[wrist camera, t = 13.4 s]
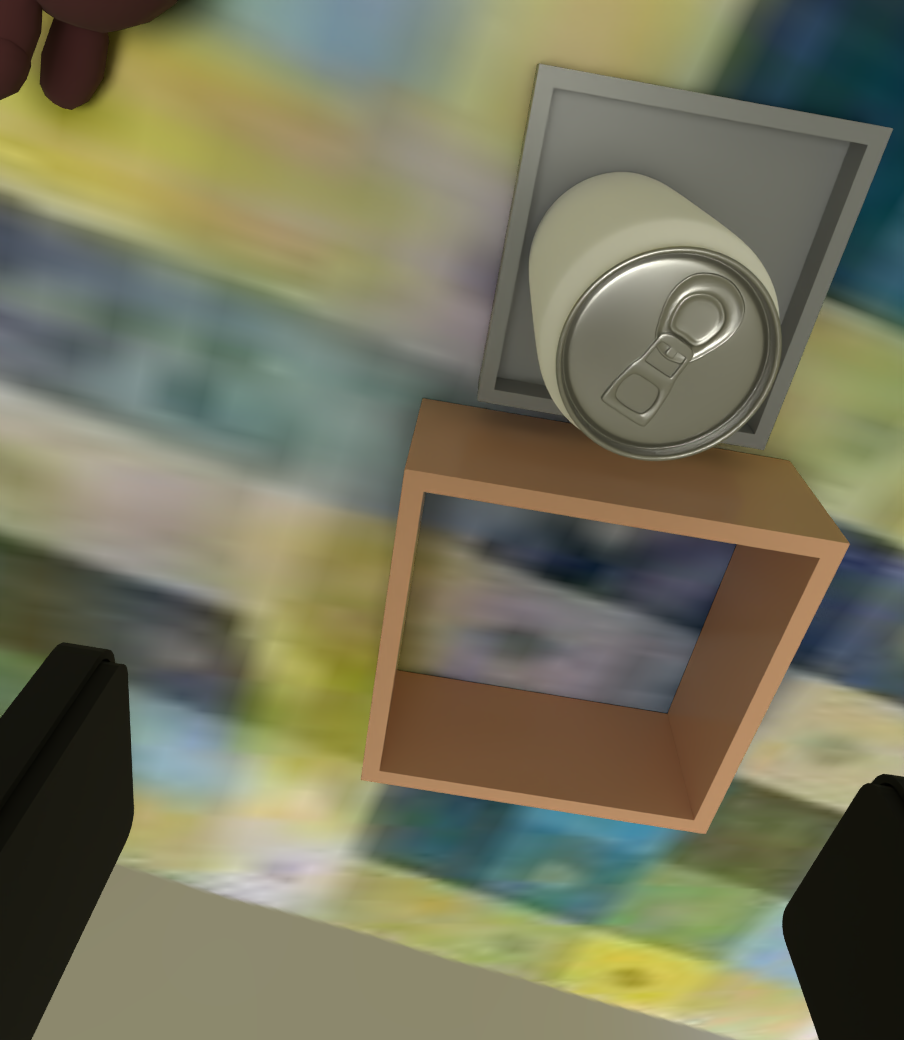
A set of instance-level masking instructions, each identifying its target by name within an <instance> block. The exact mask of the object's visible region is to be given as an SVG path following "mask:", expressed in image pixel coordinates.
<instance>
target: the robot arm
mask: <svg viewBox="0 0 904 1040" xmlns="http://www.w3.org/2000/svg"><path fill="white" fill-rule="evenodd" d="M133 816H134V799H133V777H132V755H131V733H130V711H129V689H128V671H127V667H126V665H124V664H118V663H115V659H114V654H113V653H112V651H111V650H108V649H101V648H95V647H89V646H83V645H76V644H70V643H64V642H63V643H61V644H59V645H57V646H56V647H55V648H54V649H53V651H52V652H51V653H50V654H49V656H48V657H47V658H46V660H45V661H44V662H43V664H42V665H41V666H40V667H39V669H38V670H37V671H36V673H35V674H34V675H33V677H32V678H31V679H30V680H29V682H28V683H27V684H26V686H25V687H24V688H23V689H22V691H21V692H20V693H19V695H18V696H17V697H16V699H15V700H14V701H13V702H12V704H11V705H10V706H9V708H8V709H7V710H6V712H5V713H4V714H3V715H2V717H1V718H0V1040H31V1039H32V1037H33V1035H34V1033H35V1031H36V1029H37V1027H38V1025H39V1023H40V1020H41V1018H42V1016H43V1014H44V1012H45V1010H46V1007H47V1006H48V1003H49V1002H50V1000H51V997H52V995H53V993H54V991H55V989H56V987H57V985H58V983H59V981H60V979H61V977H62V974H63V972H64V970H65V968H66V966H67V964H68V962H69V960H70V958H71V956H72V953H73V952H74V949H75V947H76V945H77V943H78V941H79V939H80V937H81V935H82V932H83V931H84V929H85V926H86V924H87V922H88V920H89V918H90V916H91V914H92V911H93V910H94V908H95V906H96V903H97V901H98V899H99V897H100V895H101V893H102V891H103V889H104V887H105V885H106V883H107V880H108V878H109V876H110V874H111V872H112V870H113V868H114V866H115V864H116V862H117V860H118V858H119V855H120V853H121V851H122V849H123V847H124V845H125V843H126V841H127V838H128V836H129V833H130V830H131V826H132V822H133ZM782 927H783V935H784V939H785V942H786V945H787V948H788V951H789V954H790V957H791V960H792V963H793V965H794V968H795V971H796V974H797V977H798V980H799V983H800V986H801V989H802V992H803V994H804V997H805V1000H806V1003H807V1006H808V1009H809V1012H810V1015H811V1018H812V1021H813V1023H814V1026H815V1029H816V1032H817V1035H818V1038H819V1040H904V777H901V776H895V775H889V774H882V775H880V776H877V777H876V778H875V779H874V780H873V782H872V783H867V784H865V785H863V786H862V787H861V788H860V790H859V791H858V793H857V794H856V796H855V798H854V799H853V801H852V802H851V804H850V806H849V807H848V809H847V810H846V812H845V814H844V815H843V817H842V818H841V820H840V821H839V823H838V825H837V826H836V828H835V829H834V831H833V833H832V834H831V836H830V837H829V839H828V841H827V842H826V844H825V845H824V847H823V849H822V850H821V852H820V853H819V855H818V857H817V858H816V860H815V861H814V863H813V865H812V866H811V868H810V869H809V871H808V873H807V874H806V876H805V877H804V879H803V881H802V882H801V884H800V885H799V887H798V889H797V890H796V892H795V893H794V895H793V897H792V898H791V900H790V901H789V903H788V905H787V906H786V908H785V911H784V914H783V921H782Z"/></svg>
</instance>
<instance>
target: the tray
mask: <svg viewBox="0 0 904 1040" xmlns="http://www.w3.org/2000/svg"><path fill="white" fill-rule="evenodd" d="M892 130H893V128H888V127H882V126H877V125H871V124H866V123H860V122H855V121H850V120H844V119H839V118H833V117H828V116H822V115H817V114H811V113H806V112H800V111H795V110H790V109H784V108H779V107H773V106H768V105H762V104H757V103H751V102H746V101H740V100H735V99H730V98H724V97H719V96H713V95H708V94H702V93H697V92H691V91H686V90H681V89H675V88H670V87H664V86H659V85H653V84H648V83H642V82H637V81H631V80H626V79H621V78H615V77H610V76H604V75H599V74H593V73H588V72H582V71H577V70H571V69H566V68H561V67H555V66H550V65H544V64H537V68H536V73H535V78H534V84H533V89H532V95H531V100H530V106H529V111H528V117H527V122H526V127H525V133H524V138H523V144H522V149H521V155H520V160H519V165H518V171H517V176H516V182H515V187H514V193H513V198H512V203H511V209H510V214H509V220H508V225H507V231H506V236H505V242H504V247H503V252H502V258H501V263H500V269H499V274H498V280H497V285H496V290H495V296H494V301H493V307H492V312H491V318H490V323H489V328H488V334H487V339H486V345H485V350H484V356H483V361H482V367H481V372H480V377H479V385H478V396H477V401H480V402H486V403H492V404H498V405H503V406H509V407H515V408H521V409H527V410H533V411H539V412H544V413H550V414H556V415H562V416H564V415H563V414H562V412H561V411H560V410H559V408H558V407H557V406H556V404H555V403H554V401H553V399H552V398H551V396H550V394H549V392H548V390H547V387H546V385H545V383H544V380H543V377H542V374H541V370H540V365H539V360H538V355H537V348H536V341H535V332H534V324H533V314H532V305H531V295H530V285H529V255H530V249H531V245H532V241H533V238H534V235H535V232H536V230H537V228H538V226H539V224H540V222H541V220H542V218H543V217H544V215H545V213H546V212H547V211H548V209H549V208H550V207H551V206H552V204H553V203H554V202H555V201H556V200H557V199H558V198H559V197H560V196H561V195H562V194H564V193H565V192H566V191H567V190H569V189H570V188H572V187H573V186H575V185H576V184H578V183H580V182H582V181H584V180H586V179H588V178H591V177H594V176H597V175H601V174H605V173H611V172H631V173H637V174H641V175H644V176H647V177H650V178H653V179H655V180H657V181H659V182H661V183H663V184H665V185H667V186H668V187H670V188H671V189H673V190H674V191H676V192H677V193H679V194H680V195H682V196H683V197H685V198H686V199H687V200H689V201H690V202H692V203H693V204H694V205H696V206H697V207H699V208H700V209H701V210H703V211H704V212H705V213H707V214H708V215H710V216H711V217H712V218H714V219H715V220H716V221H718V222H719V223H720V224H722V225H723V226H724V227H726V228H727V229H728V230H730V231H731V232H732V233H733V234H735V235H736V236H737V237H738V238H739V239H741V240H742V241H743V242H744V243H745V244H746V245H747V246H748V247H749V248H750V249H751V250H752V251H753V252H754V253H755V255H756V256H757V257H758V259H759V260H760V261H761V263H762V264H763V266H764V268H765V269H766V271H767V273H768V275H769V277H770V279H771V281H772V284H773V286H774V289H775V293H776V296H777V301H778V307H779V320H780V325H781V333H782V350H781V358H780V363H779V367H778V371H777V374H776V377H775V380H774V382H773V385H772V387H771V389H770V391H769V393H768V395H767V397H766V398H765V400H764V401H763V403H762V404H761V406H760V407H759V409H758V410H757V411H756V413H755V414H754V415H753V416H752V417H751V418H750V419H749V420H748V422H747V423H746V424H745V425H743V426H742V427H741V428H740V429H739V430H738V431H737V432H735V433H734V434H733V435H731V436H730V437H729V438H727V439H726V440H724V441H723V442H721V443H726V444H731V445H737V446H743V447H749V448H755V449H761V450H764V449H765V446H766V444H767V441H768V439H769V436H770V434H771V431H772V429H773V426H774V424H775V421H776V419H777V416H778V414H779V411H780V409H781V406H782V404H783V401H784V399H785V396H786V394H787V391H788V389H789V387H790V384H791V382H792V379H793V377H794V374H795V372H796V369H797V367H798V364H799V362H800V359H801V357H802V354H803V352H804V349H805V347H806V344H807V342H808V339H809V337H810V334H811V332H812V329H813V327H814V324H815V322H816V319H817V317H818V314H819V312H820V309H821V307H822V304H823V302H824V299H825V297H826V294H827V292H828V289H829V287H830V284H831V282H832V279H833V277H834V274H835V272H836V269H837V267H838V264H839V262H840V259H841V257H842V254H843V252H844V249H845V247H846V244H847V242H848V239H849V237H850V234H851V232H852V229H853V227H854V224H855V222H856V220H857V217H858V215H859V212H860V210H861V207H862V205H863V202H864V200H865V197H866V195H867V192H868V190H869V187H870V185H871V182H872V180H873V177H874V175H875V172H876V170H877V167H878V165H879V162H880V160H881V157H882V155H883V152H884V150H885V147H886V145H887V142H888V140H889V137H890V135H891V132H892Z"/></svg>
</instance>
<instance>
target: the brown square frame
mask: <svg viewBox="0 0 904 1040" xmlns="http://www.w3.org/2000/svg"><path fill="white" fill-rule="evenodd" d="M426 492H428V493H434V494H440V495H446V496H452V497H458V498H464V499H470V500H476V501H482V502H488V503H494V504H500V505H506V506H512V507H518V508H524V509H530V510H536V511H542V512H548V513H553V514H559V515H565V516H571V517H577V518H583V519H589V520H595V521H601V522H607V523H613V524H619V525H625V526H631V527H637V528H643V529H649V530H655V531H661V532H667V533H673V534H679V535H685V536H691V537H697V538H703V539H709V540H715V541H721V542H727V543H733V544H737V545H736V548H735V550H734V553H733V555H732V558H731V560H730V562H729V565H728V567H727V570H726V572H725V575H724V577H723V580H722V582H721V584H720V587H719V589H718V592H717V594H716V597H715V599H714V601H713V604H712V606H711V609H710V611H709V614H708V616H707V619H706V621H705V623H704V626H703V628H702V631H701V633H700V636H699V638H698V641H697V643H696V645H695V648H694V650H693V653H692V655H691V658H690V660H689V663H688V665H687V667H686V670H685V672H684V675H683V677H682V680H681V682H680V684H679V687H678V689H677V692H676V694H675V697H674V699H673V702H672V704H671V706H670V709H669V711H668V714H666V713H660V712H653V711H647V710H641V709H635V708H629V707H622V706H616V705H610V704H604V703H597V702H591V701H585V700H579V699H573V698H566V697H560V696H554V695H548V694H542V693H535V692H529V691H523V690H517V689H511V688H504V687H498V686H492V685H486V684H480V683H473V682H467V681H461V680H455V679H448V678H442V677H436V676H430V675H424V674H417V673H411V672H405V671H399V670H398V665H399V658H400V652H401V646H402V640H403V633H404V627H405V621H406V614H407V608H408V602H409V596H410V589H411V583H412V577H413V571H414V564H415V558H416V552H417V546H418V539H419V533H420V527H421V520H422V514H423V508H424V502H425V495H426ZM849 544H850V543H849V542H848V541H847V539H846V538H845V536H844V535H843V534H842V532H841V531H840V530H839V528H838V527H837V525H836V524H835V523H834V521H833V520H832V518H831V517H830V516H829V514H828V513H827V512H826V510H825V509H824V507H823V506H822V505H821V503H820V502H819V500H818V499H817V498H816V496H815V495H814V494H813V492H812V491H811V489H810V488H809V487H808V485H807V484H806V483H805V481H804V480H803V478H802V477H801V476H800V474H799V473H798V471H797V470H796V469H795V467H794V466H793V465H792V463H791V462H790V461H788V460H782V459H776V458H770V457H765V456H759V455H753V454H747V453H741V452H735V451H729V450H724V449H718V448H710V449H708V450H705V451H703V452H701V453H698V454H695V455H692V456H688V457H685V458H680V459H675V460H667V461H645V460H637V459H632V458H628V457H624V456H621V455H618V454H615V453H613V452H611V451H608V450H606V449H605V448H603V447H601V446H599V445H598V444H596V443H595V442H594V441H592V440H591V439H590V438H588V437H587V436H586V435H585V434H584V433H583V432H582V431H581V430H580V429H578V428H577V427H576V426H575V425H573V424H571V423H565V422H560V421H554V420H548V419H542V418H536V417H530V416H525V415H519V414H513V413H507V412H501V411H495V410H489V409H484V408H478V407H472V406H466V405H460V404H454V403H448V402H443V401H437V400H431V399H425V398H423V399H422V403H421V407H420V410H419V414H418V418H417V422H416V426H415V430H414V434H413V438H412V442H411V446H410V450H409V454H408V458H407V462H406V466H405V470H404V477H403V485H402V492H401V499H400V506H399V513H398V520H397V527H396V534H395V541H394V548H393V555H392V562H391V570H390V577H389V584H388V591H387V598H386V605H385V612H384V619H383V626H382V633H381V640H380V648H379V655H378V662H377V669H376V676H375V683H374V690H373V697H372V704H371V711H370V718H369V725H368V733H367V740H366V747H365V754H364V761H363V768H362V775H361V780H364V781H371V782H377V783H383V784H390V785H396V786H403V787H409V788H415V789H422V790H428V791H434V792H441V793H447V794H454V795H460V796H466V797H473V798H479V799H485V800H492V801H498V802H504V803H511V804H517V805H524V806H530V807H536V808H543V809H549V810H555V811H562V812H568V813H575V814H581V815H587V816H594V817H600V818H606V819H613V820H619V821H626V822H632V823H638V824H645V825H651V826H657V827H664V828H670V829H676V830H683V831H689V832H696V833H702V834H706V832H707V830H708V828H709V826H710V824H711V822H712V820H713V818H714V816H715V814H716V812H717V810H718V808H719V806H720V804H721V802H722V800H723V798H724V796H725V794H726V792H727V790H728V788H729V786H730V784H731V782H732V780H733V778H734V775H735V773H736V771H737V769H738V767H739V765H740V763H741V761H742V759H743V757H744V755H745V753H746V751H747V749H748V747H749V745H750V743H751V741H752V739H753V737H754V735H755V733H756V731H757V729H758V727H759V725H760V723H761V721H762V719H763V717H764V715H765V713H766V711H767V709H768V707H769V705H770V703H771V701H772V699H773V697H774V695H775V693H776V691H777V689H778V687H779V685H780V683H781V681H782V679H783V677H784V675H785V673H786V671H787V669H788V667H789V665H790V663H791V661H792V659H793V657H794V655H795V653H796V651H797V649H798V647H799V645H800V643H801V641H802V639H803V637H804V635H805V633H806V631H807V629H808V627H809V625H810V623H811V621H812V619H813V617H814V615H815V613H816V611H817V609H818V607H819V605H820V603H821V601H822V599H823V597H824V595H825V593H826V591H827V589H828V587H829V585H830V583H831V581H832V579H833V577H834V575H835V573H836V571H837V569H838V567H839V565H840V563H841V561H842V559H843V557H844V555H845V553H846V551H847V549H848V547H849Z"/></svg>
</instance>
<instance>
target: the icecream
mask: <svg viewBox="0 0 904 1040" xmlns="http://www.w3.org/2000/svg"><path fill="white" fill-rule="evenodd" d="M177 1H178V0H0V100H2V99H4V98H6V97H8V96H10V95H13V94H15V93H17V92H18V91H19V90H20V88H21V87H22V85H23V84H24V82H25V81H26V79H27V76H28V73H29V71H30V68H31V59H32V56H33V53H34V51H35V48H36V45H37V42H38V40H39V37H40V34H41V26H42V10H44V11H45V12H46V13H48V14H49V15H51V16H52V17H54V19H53V22H52V25H51V27H50V30H49V33H48V36H47V39H46V42H45V45H44V48H43V51H42V54H41V72H40V85H41V87H42V89H43V92H44V94H45V96H46V97H47V98H48V99H50V100H51V101H52V102H53V103H54V104H56V105H58V106H60V107H62V108H65V109H70V110H72V109H74V108H76V107H78V106H80V105H82V104H84V103H86V102H88V101H89V100H90V98H91V97H92V95H93V94H94V92H95V91H96V89H97V87H98V86H99V84H100V83H101V81H102V80H103V78H104V72H105V65H106V58H107V52H108V45H109V36H108V32H113V31H118V30H122V29H126V28H129V27H133V26H137V25H140V24H144V23H148V22H150V21H152V20H153V19H155V18H156V17H157V16H159V15H160V14H162V13H163V12H165V11H166V10H168V9H169V8H170V7H172V6H173V5H175V4H176V2H177Z"/></svg>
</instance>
